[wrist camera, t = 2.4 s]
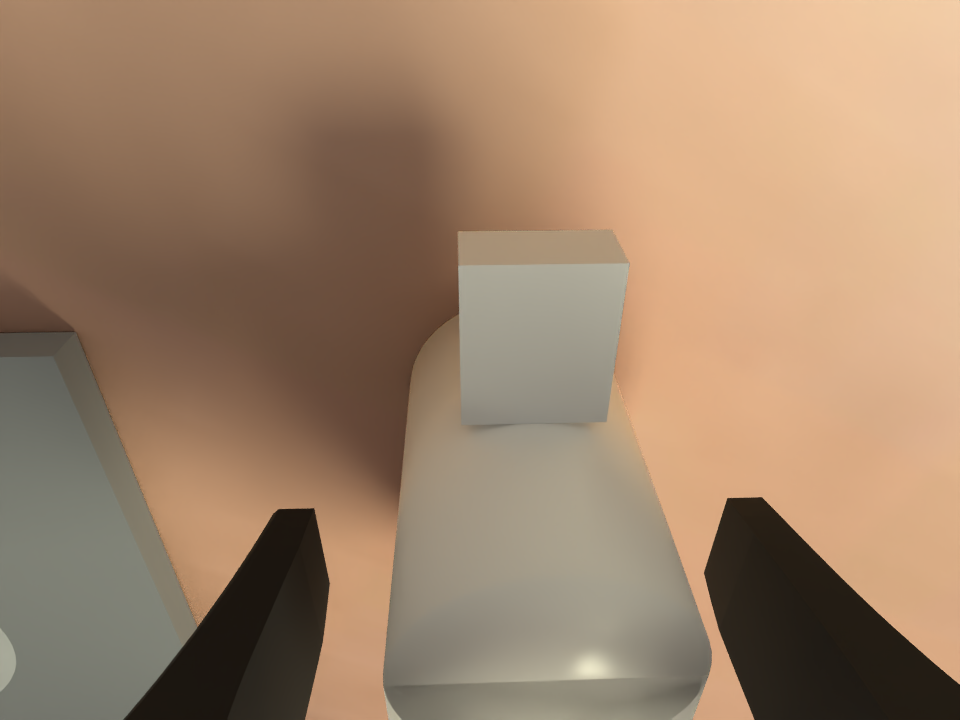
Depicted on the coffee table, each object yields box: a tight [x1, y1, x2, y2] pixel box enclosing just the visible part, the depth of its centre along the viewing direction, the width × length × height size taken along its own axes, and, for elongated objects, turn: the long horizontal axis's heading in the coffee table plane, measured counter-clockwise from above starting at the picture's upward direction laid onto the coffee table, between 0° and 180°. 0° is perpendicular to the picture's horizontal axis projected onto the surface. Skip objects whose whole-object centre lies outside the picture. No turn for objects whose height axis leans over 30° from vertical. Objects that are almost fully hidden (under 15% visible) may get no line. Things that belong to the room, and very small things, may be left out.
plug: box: [383, 230, 712, 720], centre depth 11 cm, size 9×4×6 cm, turn 0°
